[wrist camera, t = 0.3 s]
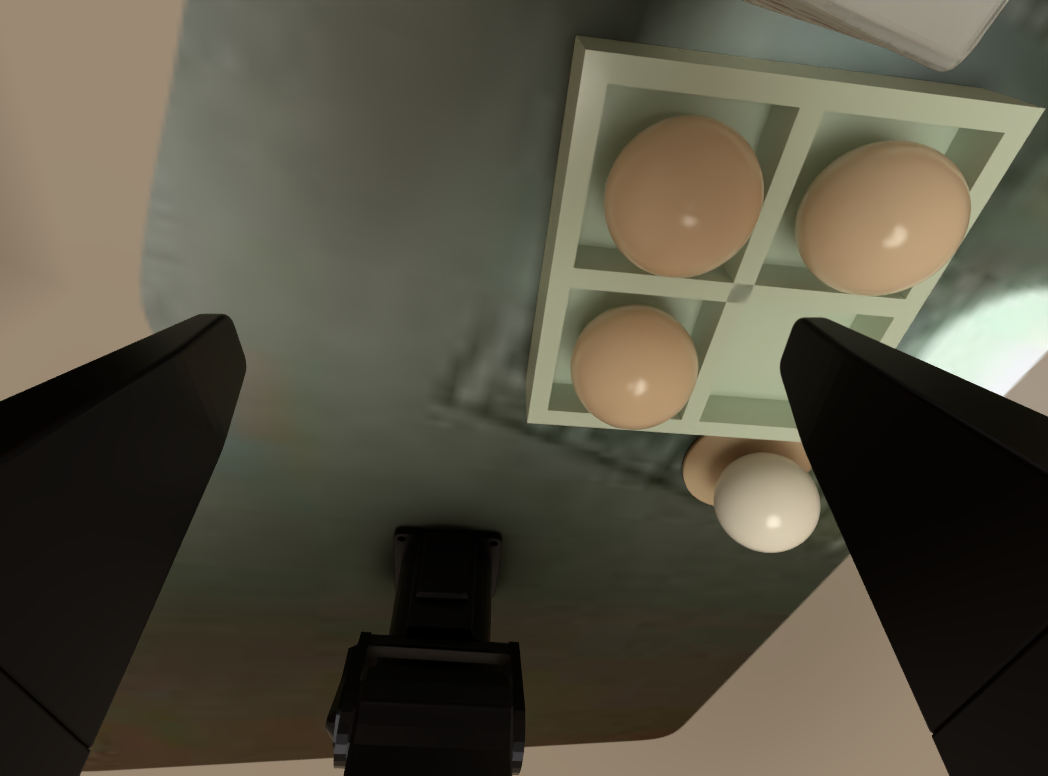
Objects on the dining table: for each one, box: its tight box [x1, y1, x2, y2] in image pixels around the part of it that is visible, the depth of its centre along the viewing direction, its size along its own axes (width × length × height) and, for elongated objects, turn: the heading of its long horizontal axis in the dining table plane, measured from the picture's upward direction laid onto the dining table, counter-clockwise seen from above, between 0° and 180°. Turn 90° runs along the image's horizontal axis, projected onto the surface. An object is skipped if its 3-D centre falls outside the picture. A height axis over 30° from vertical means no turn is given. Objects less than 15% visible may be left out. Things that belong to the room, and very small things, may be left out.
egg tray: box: [526, 35, 1045, 442], centre depth 23 cm, size 14×14×3 cm
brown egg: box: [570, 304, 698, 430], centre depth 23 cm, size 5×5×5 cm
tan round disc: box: [682, 435, 811, 506], centre depth 31 cm, size 7×7×1 cm
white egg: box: [713, 452, 820, 553], centre depth 29 cm, size 5×5×5 cm
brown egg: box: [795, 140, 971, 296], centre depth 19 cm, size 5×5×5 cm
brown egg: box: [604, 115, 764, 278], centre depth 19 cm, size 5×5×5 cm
